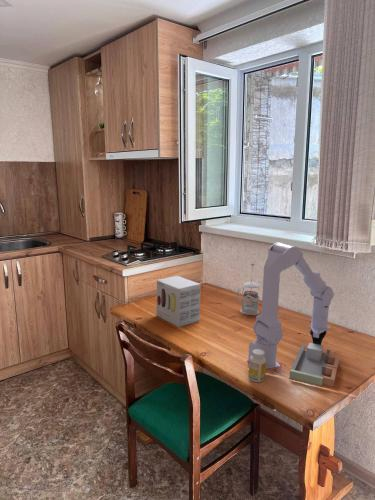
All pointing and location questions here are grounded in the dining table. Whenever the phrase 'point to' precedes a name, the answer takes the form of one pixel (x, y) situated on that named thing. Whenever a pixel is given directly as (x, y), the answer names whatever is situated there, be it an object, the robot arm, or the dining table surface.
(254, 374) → the supplement bottle
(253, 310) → the french press
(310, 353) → the block
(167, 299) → the supplement box
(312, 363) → the box
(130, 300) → the dining table surface
